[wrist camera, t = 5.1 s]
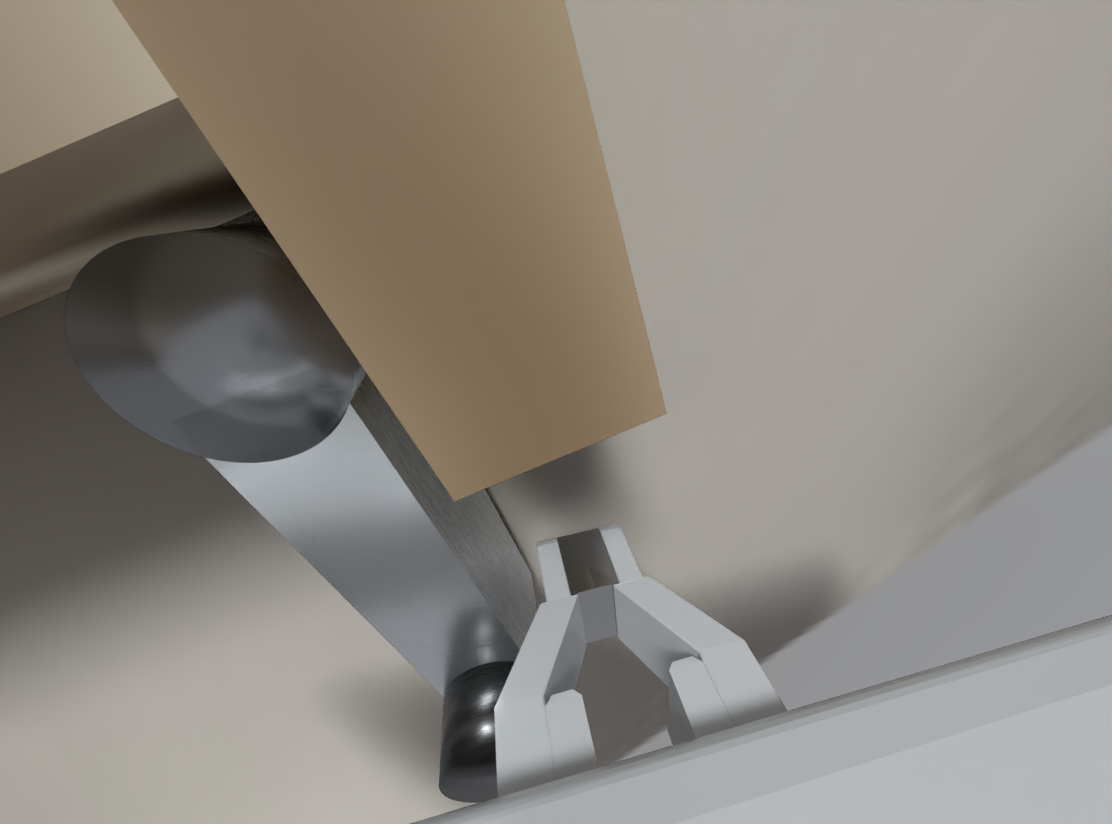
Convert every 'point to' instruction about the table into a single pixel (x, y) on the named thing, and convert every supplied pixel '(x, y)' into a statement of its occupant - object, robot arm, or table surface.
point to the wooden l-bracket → (351, 194)
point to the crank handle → (311, 457)
